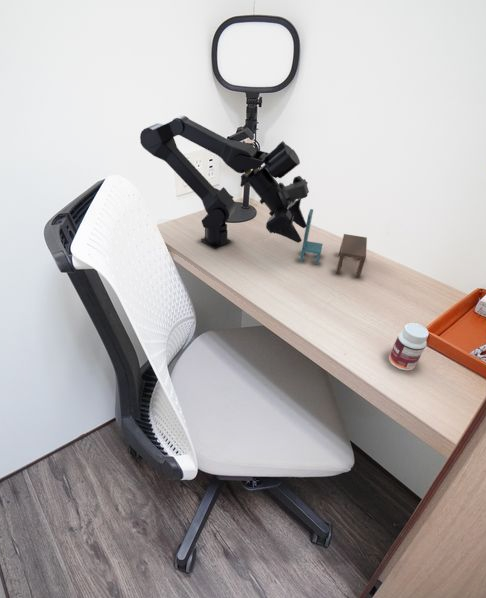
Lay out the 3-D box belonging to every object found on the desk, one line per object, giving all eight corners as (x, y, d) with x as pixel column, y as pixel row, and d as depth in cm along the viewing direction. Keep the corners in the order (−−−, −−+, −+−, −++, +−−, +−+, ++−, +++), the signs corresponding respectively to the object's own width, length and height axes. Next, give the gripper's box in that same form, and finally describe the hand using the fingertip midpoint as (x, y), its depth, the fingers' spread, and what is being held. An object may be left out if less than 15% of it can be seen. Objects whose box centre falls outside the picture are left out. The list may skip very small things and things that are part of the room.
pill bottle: (388, 350, 72) (402, 318, 67) (414, 356, 71) (430, 324, 66) (388, 367, 69) (402, 334, 64) (415, 374, 68) (432, 341, 62)
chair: (299, 261, 100) (307, 215, 92) (302, 253, 104) (310, 208, 96) (317, 264, 99) (328, 218, 90) (320, 256, 102) (329, 211, 94)
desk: (335, 273, 95) (341, 252, 91) (338, 254, 103) (343, 233, 99) (359, 278, 93) (366, 256, 89) (360, 258, 102) (366, 237, 98)
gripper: (285, 181, 82) (325, 233, 86) (298, 159, 96) (332, 204, 100) (249, 208, 89) (287, 256, 93) (266, 184, 103) (298, 226, 107)
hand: (302, 234), depth 98 cm, fingers open, 9 cm apart
